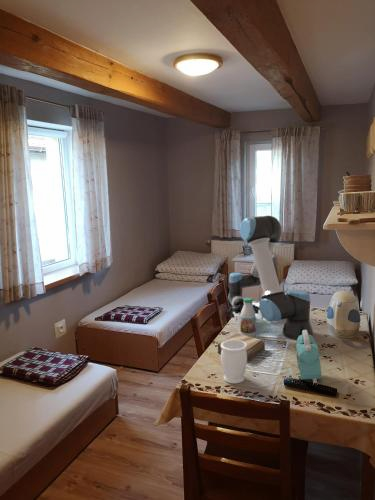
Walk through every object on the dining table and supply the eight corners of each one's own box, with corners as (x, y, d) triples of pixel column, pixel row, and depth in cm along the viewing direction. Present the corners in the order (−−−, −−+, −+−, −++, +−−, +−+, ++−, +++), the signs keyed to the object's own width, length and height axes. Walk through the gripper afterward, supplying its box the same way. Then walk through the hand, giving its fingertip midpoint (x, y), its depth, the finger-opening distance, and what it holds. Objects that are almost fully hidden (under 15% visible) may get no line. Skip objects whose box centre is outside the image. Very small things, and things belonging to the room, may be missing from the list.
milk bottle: (239, 332, 208) (239, 296, 204) (254, 332, 207) (254, 296, 204) (241, 338, 200) (241, 301, 196) (256, 338, 200) (256, 300, 196)
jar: (229, 387, 154) (228, 352, 151) (216, 376, 163) (216, 342, 160) (252, 381, 158) (251, 346, 155) (238, 370, 167) (238, 337, 164)
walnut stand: (264, 349, 187) (264, 339, 186) (247, 362, 174) (247, 351, 174) (236, 341, 197) (236, 332, 196) (218, 353, 184) (217, 343, 184)
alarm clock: (323, 390, 150) (324, 340, 146) (297, 388, 152) (298, 339, 148) (317, 368, 167) (319, 324, 163) (294, 367, 168) (295, 323, 165)
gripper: (261, 309, 221) (273, 322, 200) (217, 312, 219) (225, 326, 198) (261, 296, 220) (273, 308, 199) (217, 299, 218) (225, 312, 197)
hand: (249, 317), depth 199 cm, fingers open, 13 cm apart
